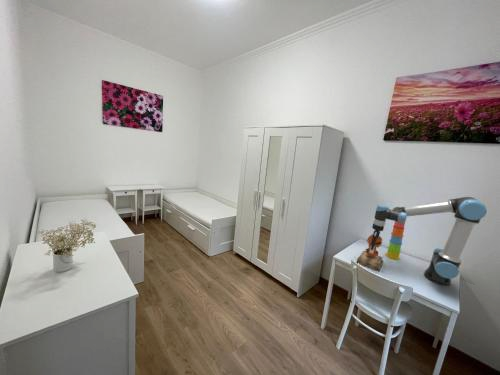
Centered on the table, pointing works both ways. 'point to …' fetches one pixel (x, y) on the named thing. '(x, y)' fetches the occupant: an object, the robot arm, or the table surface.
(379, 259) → the egg carton
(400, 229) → the stacking cups
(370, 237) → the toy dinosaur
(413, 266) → the table surface
